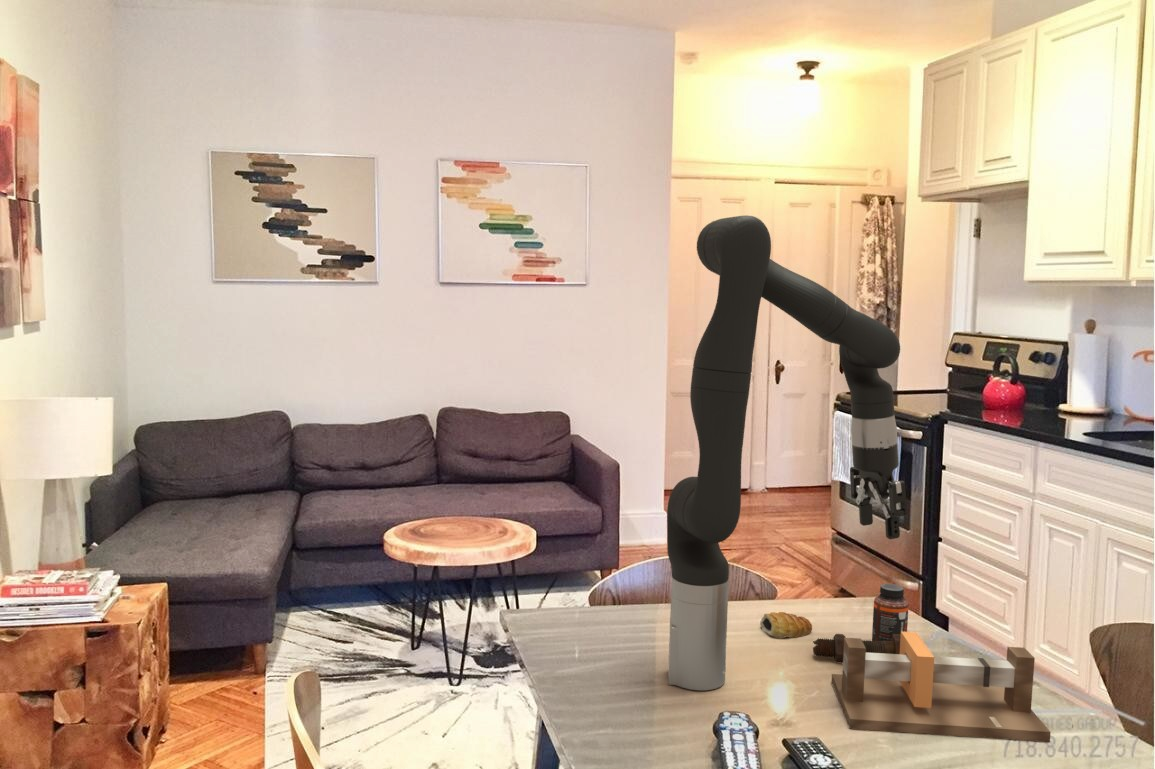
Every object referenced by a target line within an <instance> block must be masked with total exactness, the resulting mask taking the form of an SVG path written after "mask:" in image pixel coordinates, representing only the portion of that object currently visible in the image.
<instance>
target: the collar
mask: <svg viewBox="0 0 1155 769" xmlns="http://www.w3.org/2000/svg"><path fill="white" fill-rule="evenodd" d="M900 654H902V655H908V657H909V658H910V660H911V676H910V681H900V683H901V684H902V686H903V688H904V690H905V691H906V693H907V695H908V696H909V698H910V700H911V702H912V703H913V705H914V707H924V708H931V704H932V688H933V671H934V654H933V653H932V652H931V650H930V649H929V648H928V646H927V645H926V644H925V642H924V641H923V639H922V638H921V637H920V635H919V634H918V632H917V631H907V632H902V631H901V638H900Z"/></svg>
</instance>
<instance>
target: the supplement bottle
mask: <svg viewBox="0 0 1155 769" xmlns="http://www.w3.org/2000/svg"><path fill="white" fill-rule="evenodd" d="M904 590H905V589H904V587H903V586H901V585H899V584H894V583H883V584H881V585H880V588H879V593H880V594H878V595H876V596H875V598H874V600H873V613H872V632H871V633H872V634H871V641H892V634H900V635H901V631H902V632H908V623H909V622H908V621H909V602H908V600H907V599H905V596H904V595H905V592H904Z"/></svg>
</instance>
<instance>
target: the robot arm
mask: <svg viewBox="0 0 1155 769" xmlns="http://www.w3.org/2000/svg"><path fill="white" fill-rule="evenodd" d="M769 231H770V230H769V229H768V228H767V226H766V224H765V223H764V222H763V221H762V220H761V219H760V218H758V217H757V216H753V215H737V216H731V217H724V218H719V219H716V220H713V221H711V222H709V223H708V224H706V225H705V226H704V227H703V228H702V229H701V231H700V232H699V234H698V236H697V239H696V240H697V241H696V251H697V253H696V254H697V256H698V259H699V260H700V262H701V263H702V265H703V266H704V267H705V268H706V269H707V270H708V271H710V272H711V273H713V274H715V275H718V276H719V279H718V281H719V282H718V290H717V298H716V303H715V306H714V310H713V313H712V315H711V318H710V320H709V322H708V324H707V326H706V328H705V331H704V332H703V334H702V336H701V338H700V340H699V343H698V345H697V348H696V350H695V355H694V358H693V363H692V364H693V365H692V371H691V382H690V393H689V394H690V396H689V397H690V408H691V413H692V414H691V415H692V418H693V423H694V426H695V431H696V437H697V441H698V450H699V462H698V470H697V476H688V477H686V478H683V479H681V480H680V481H679V482H677V484H676V485H675V486H674V487H673V489H672V490H671V492H670V494H669V497H668V501H667V510H666V547H667V548H666V549H667V555H668V556H667V557H668V560H669V563H670V566H671V585H670V586H671V587H670V612H669V613H670V617H669V638H668V639H669V640H668V641H669V642H668V643H669V644H668V646H669V647H668V652H669V653H668V675H667V676H668V682H667V684H668V685H671V686H672V685H673V686H677V687H679V688H682V689H686V690H691V691H712V690H715V689H719V688H721V687H722V686H723V685H725V681H726V668H727V667H726V661H727V635H728V634H727V633H728V632H727V631H728V630H727V629H728V609H729V608H728V606H729V605H728V604H729V579H730V578H729V576H730V572H729V571H730V566H729V562H728V560H727V558H726V557H725V555H724V553H723V551H722V549H721V546H720V543H722V542H724V541H726V540H727V539H728V538H729V537H731V535H732V534H733V532H734V531H735V530H736V528H737V525H738V523H739V519H740V515H741V504H742V496H741V495H742V456H743V447H744V446H743V445H744V437H745V428H746V417H747V416H746V415H747V409H748V407H747V406H748V403H749V402H748V401H749V395H750V388H751V379H752V372H753V371H752V370H753V358H754V351H755V350H754V349H755V342H756V336H757V327H758V326H757V325H758V319H759V318H758V317H759V310H760V304H761V301H762V299H764V300H766V301H767V302H769V303H770V304H772V305H773V306H775V307H777V308H778V309H780V310H781V311H782V312H784V313H785V314H787V315H789V316H790V317H791V318H793V319H794V320H795V321H797V323H800V325H802V326H803V327H804V328H806V329H808V330H809V331H811V332H812V333H814V334H815V335H816V336H817V337H818V338H821V339H822V340H823V341H826V342H828V343H831V344H836V345H839V349H838V352H839V353H838V354H839V359H840V365H841V368H842V371H843V374H844V378H845V381H846V383H847V387H848V389H849V394H850V412H851V426H850V432H851V437H850V438H851V450H852V451H851V453H852V464H853V465H852V466H851V467H850V468H849V475H850V476H849V479H850V498H851V499H855V502H856V504H857V505H858V513H859V524H860V525H861V526H865V527H866V526H870V525H873V523H874V516H873V504H872V501H873V500H875V501H876V504H877V506H878V507H879V508H881V509H882V511H883V514H884V516H885V517H884V524H885V537H886V538H887V539H889V540H895V539H899V538H900V535H901V534H900V533H901V528H900V517H905V516H908V503H907V492H906V483H905V481H904V480H895V479H894V476H893V471H894V470H896V469H897V468H898V467H899V464H900V463H899V445H898V430H897V429H898V427H897V423H896V417H895V403H894V398H895V397H894V392H893V391H894V390H893V387H892V385H891V383H889V382H888V381H886V379H885V380H884V379H883V377H881V375H880V374H879V369H885V368H889V367H890V366H892V365H894V364H895V363H896V362H897V361H898V359H899V357H900V354H901V344H900V340H899V338H898V336H897V335H896V333H895V332H894V331H893V330H892V329H891V328H890V327H888V326H887V325H886V324H884V323H882V322H880V321H879V320H876V319H875V318H872V317H871V316H869V315H867V314H865V313H863V312H861V311H858V310H856V309H855V308H853V307H851V306H850V305H849V304H847V303H846V302H845V301H844V300H843V299H841V298H840V297H838V295H837V294H835V293H834V292H832V291H830V290H829V289H828V288H826V287H824V286H823V285H821V284H819V283H817V282H815V281H814V280H812V279H810V278H808V277H805V276H803V275H801V274H799V273H796V272H794V271H792V270H790V269H789V268H786V267H784V266H783V265H780V264H779V263H777V262H776V261H775V260H773V259H771V254H772V239H771V234H770V232H769ZM858 486H859V487H858ZM857 487H858V489H857ZM899 503H900V504H899Z"/></svg>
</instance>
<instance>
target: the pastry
mask: <svg viewBox="0 0 1155 769" xmlns="http://www.w3.org/2000/svg"><path fill="white" fill-rule="evenodd" d="M759 626H760V627H761V630H762V632H764V633H766V634H768V636H771V637H772V638H777V639H785V638H791V639H793V638H797V637H804V636H807V635H809V634H810V633H812V631H813V624H812V622H810V620H809V619H808V618H806V617H804V616H801V615H800V616H797V614H793V613H787V612H785V611H784V612H783V611H779V612H773V611H772V612H770V613H764V614H763V617H762V618H761V620H760V625H759Z"/></svg>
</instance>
